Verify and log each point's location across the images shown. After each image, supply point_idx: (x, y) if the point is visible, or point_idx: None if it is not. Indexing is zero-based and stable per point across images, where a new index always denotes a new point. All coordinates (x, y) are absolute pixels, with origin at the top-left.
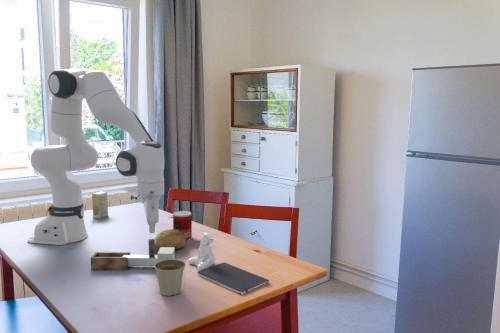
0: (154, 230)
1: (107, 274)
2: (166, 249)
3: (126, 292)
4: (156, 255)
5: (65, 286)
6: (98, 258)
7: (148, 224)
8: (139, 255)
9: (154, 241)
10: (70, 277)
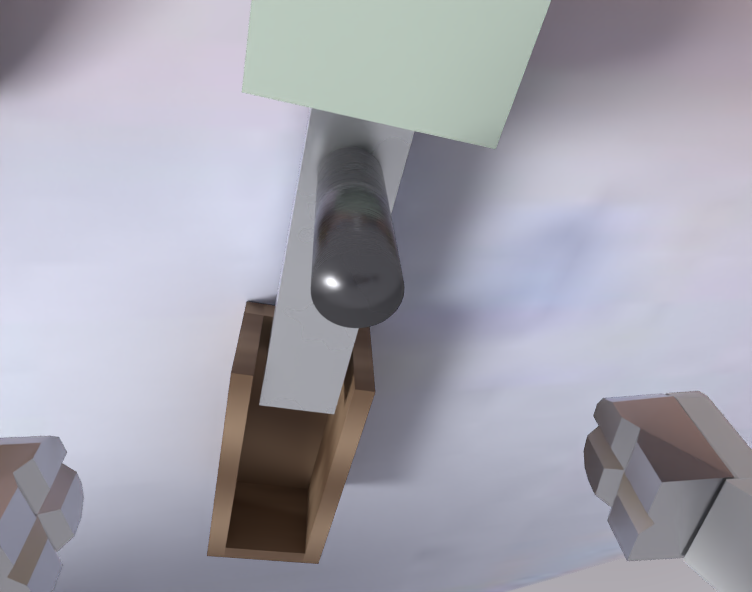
0: (730, 428)
1: (406, 414)
2: (361, 3)
3: (739, 308)
4: (329, 126)
5: (502, 541)
6: (328, 529)
7: (81, 493)
8: (297, 293)
9: (365, 237)
10: (395, 542)
